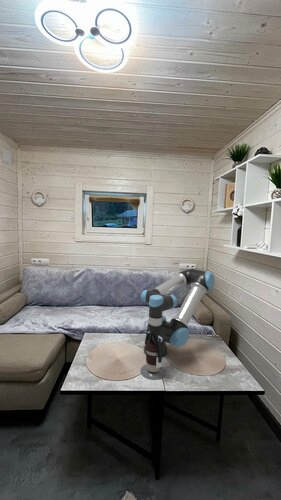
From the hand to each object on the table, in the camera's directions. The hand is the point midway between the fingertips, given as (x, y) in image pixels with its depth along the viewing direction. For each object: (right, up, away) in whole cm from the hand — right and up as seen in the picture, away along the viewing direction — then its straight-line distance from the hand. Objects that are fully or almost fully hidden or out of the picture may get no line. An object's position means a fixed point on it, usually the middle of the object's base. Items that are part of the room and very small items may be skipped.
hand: (153, 362), depth 139 cm
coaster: (0, -6, +1) cm, 6 cm away
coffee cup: (0, -4, 0) cm, 4 cm away
